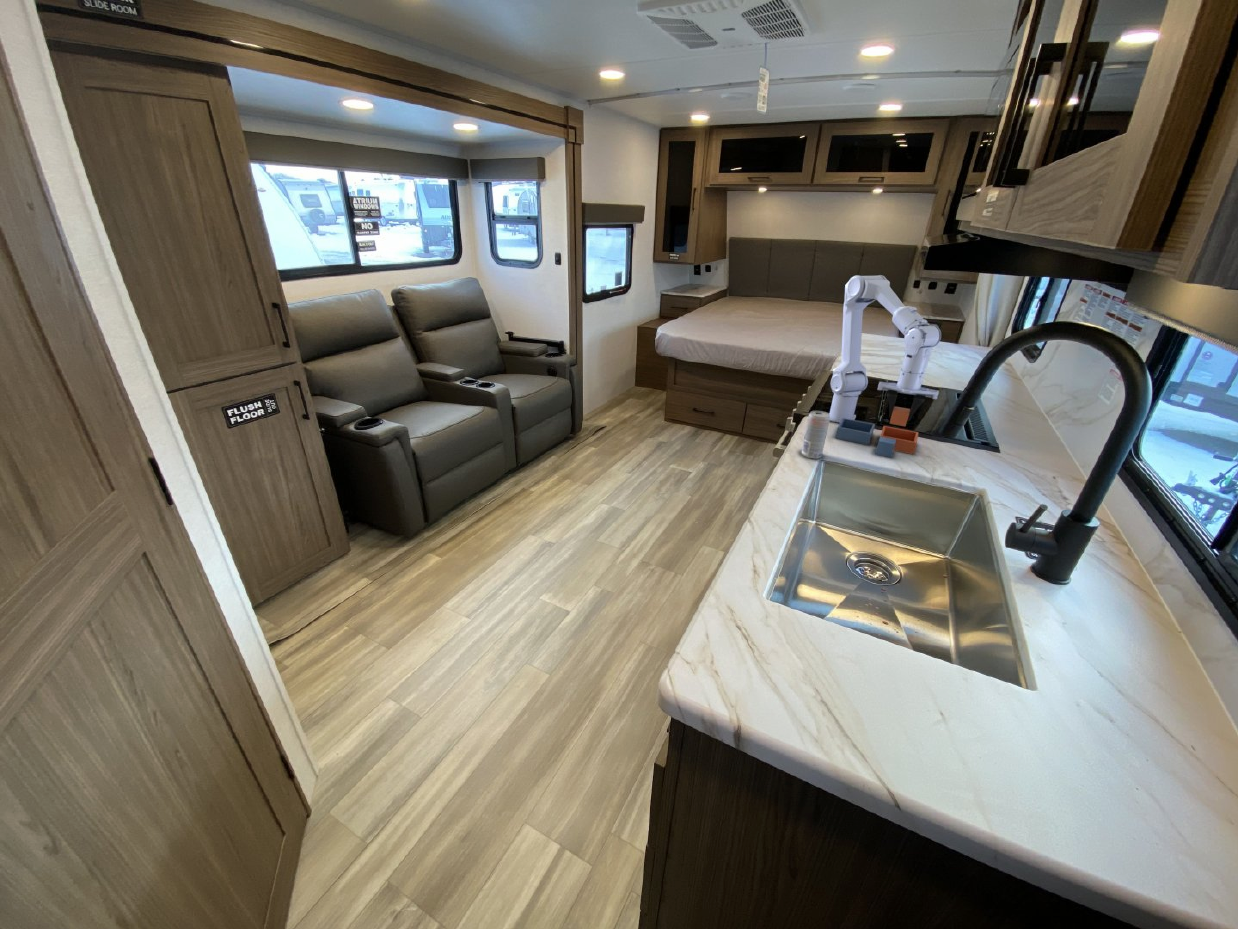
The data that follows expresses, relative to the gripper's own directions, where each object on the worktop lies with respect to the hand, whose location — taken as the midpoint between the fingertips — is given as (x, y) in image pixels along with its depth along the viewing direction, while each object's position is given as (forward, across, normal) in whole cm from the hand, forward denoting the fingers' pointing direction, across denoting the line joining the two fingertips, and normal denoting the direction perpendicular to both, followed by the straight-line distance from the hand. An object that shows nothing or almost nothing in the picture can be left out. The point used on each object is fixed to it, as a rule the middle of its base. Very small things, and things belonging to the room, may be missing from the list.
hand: (899, 418), depth 139 cm
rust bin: (+8, +1, +1) cm, 9 cm away
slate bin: (+8, -10, +1) cm, 13 cm away
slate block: (+8, -1, -8) cm, 11 cm away
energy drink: (+9, -18, -20) cm, 28 cm away
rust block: (+1, 0, 0) cm, 1 cm away
